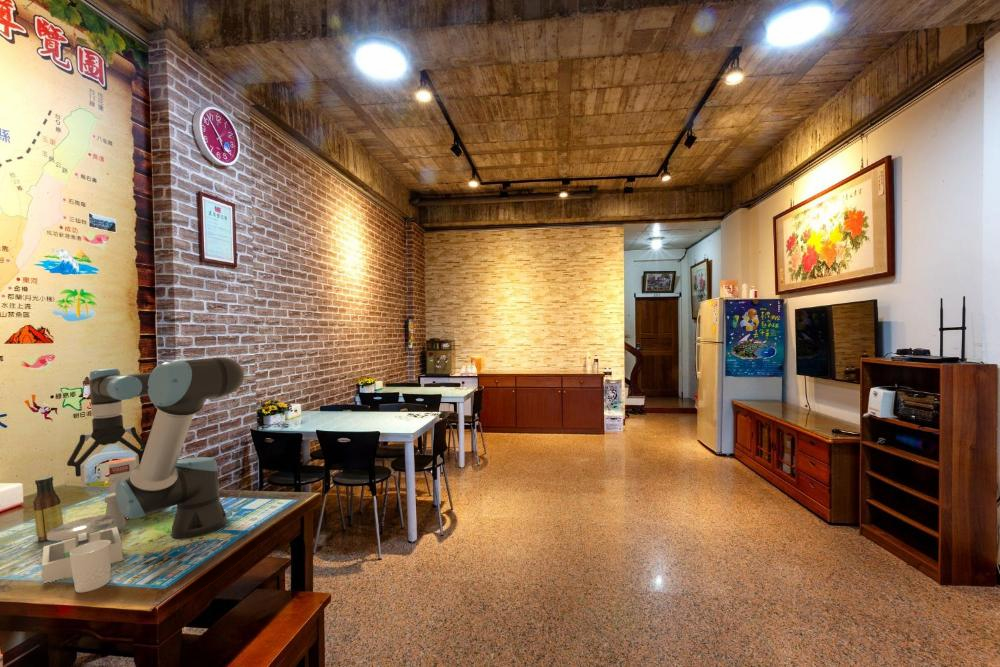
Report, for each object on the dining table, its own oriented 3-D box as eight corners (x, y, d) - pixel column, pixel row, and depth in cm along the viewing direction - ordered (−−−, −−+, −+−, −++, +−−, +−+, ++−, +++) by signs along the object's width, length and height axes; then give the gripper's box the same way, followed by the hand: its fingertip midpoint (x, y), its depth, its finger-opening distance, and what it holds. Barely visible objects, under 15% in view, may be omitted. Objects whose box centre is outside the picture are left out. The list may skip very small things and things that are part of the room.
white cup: (68, 588, 114) (65, 550, 114) (107, 573, 121) (105, 537, 120) (77, 597, 110) (74, 557, 109) (117, 581, 116) (115, 543, 116)
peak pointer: (88, 542, 121) (87, 540, 121) (78, 545, 120) (77, 542, 120) (87, 539, 122) (87, 537, 122) (77, 542, 121) (77, 540, 121)
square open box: (123, 560, 127) (120, 526, 127) (43, 585, 116) (40, 548, 116) (117, 542, 139) (115, 511, 139) (44, 563, 128) (42, 529, 128)
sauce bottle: (68, 531, 150) (64, 473, 149) (57, 539, 144) (53, 478, 143) (42, 535, 147) (38, 476, 147) (31, 544, 141) (26, 482, 141)
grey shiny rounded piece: (118, 548, 125) (116, 527, 125) (47, 569, 115) (45, 546, 115) (112, 530, 138) (111, 511, 138) (48, 548, 128) (47, 527, 128)
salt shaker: (112, 537, 143) (110, 497, 143) (98, 536, 144) (96, 497, 144) (131, 529, 149) (128, 490, 149) (117, 528, 150) (115, 490, 150)
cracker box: (111, 524, 154) (107, 464, 154) (112, 518, 159) (108, 460, 158) (162, 511, 163) (158, 455, 163) (161, 507, 168) (158, 452, 167)
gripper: (153, 408, 157) (156, 467, 158) (53, 421, 140) (58, 488, 140) (156, 410, 152) (160, 472, 152) (53, 424, 134) (58, 493, 135)
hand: (111, 479), depth 146 cm, fingers open, 13 cm apart
